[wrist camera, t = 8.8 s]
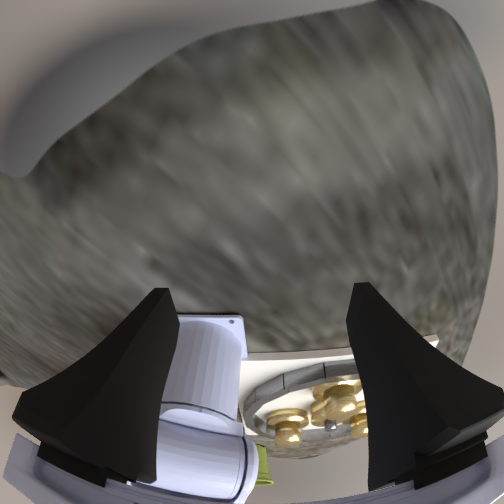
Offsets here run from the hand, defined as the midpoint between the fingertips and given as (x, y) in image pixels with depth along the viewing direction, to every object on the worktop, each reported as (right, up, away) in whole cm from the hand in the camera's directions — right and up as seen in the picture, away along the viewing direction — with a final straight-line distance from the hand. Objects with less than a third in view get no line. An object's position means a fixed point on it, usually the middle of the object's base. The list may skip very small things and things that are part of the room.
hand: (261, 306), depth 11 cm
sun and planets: (+10, -20, +23) cm, 32 cm away
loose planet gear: (+9, -13, +18) cm, 24 cm away
